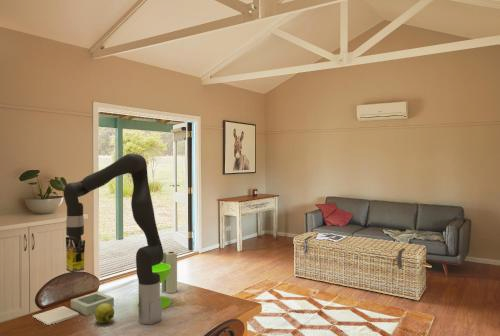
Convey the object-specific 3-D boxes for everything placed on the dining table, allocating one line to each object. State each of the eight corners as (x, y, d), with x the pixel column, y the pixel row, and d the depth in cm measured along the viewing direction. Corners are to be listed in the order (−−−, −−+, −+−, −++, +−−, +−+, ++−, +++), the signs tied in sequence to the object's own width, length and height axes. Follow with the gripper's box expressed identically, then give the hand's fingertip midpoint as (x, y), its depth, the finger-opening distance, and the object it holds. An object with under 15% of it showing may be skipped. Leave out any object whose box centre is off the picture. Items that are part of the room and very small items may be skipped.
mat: (79, 315, 173) (79, 313, 172) (47, 326, 161) (47, 323, 161) (63, 308, 181) (63, 305, 181) (32, 317, 170) (32, 315, 170)
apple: (107, 316, 171) (107, 299, 171) (118, 322, 166) (118, 304, 165) (90, 322, 165) (90, 304, 165) (101, 328, 160) (101, 309, 159)
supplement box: (72, 272, 173) (72, 249, 172) (66, 270, 177) (65, 247, 176) (84, 269, 177) (84, 246, 177) (78, 267, 181) (78, 244, 181)
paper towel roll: (179, 290, 206) (178, 251, 205) (173, 294, 200) (173, 254, 199) (167, 289, 207) (167, 250, 207) (161, 292, 202) (161, 253, 201)
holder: (113, 305, 184) (113, 297, 184) (86, 315, 172) (86, 306, 172) (97, 299, 192) (97, 291, 192) (70, 308, 181) (70, 299, 181)
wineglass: (175, 298, 194) (174, 263, 193) (164, 310, 178) (164, 273, 177) (144, 297, 195) (144, 262, 195) (132, 309, 180) (132, 271, 179)
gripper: (90, 225, 175) (90, 261, 175) (75, 222, 184) (75, 256, 184) (74, 228, 169) (75, 265, 169) (59, 224, 178) (59, 259, 178)
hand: (75, 260), depth 177 cm, fingers closed on supplement box, 6 cm apart
